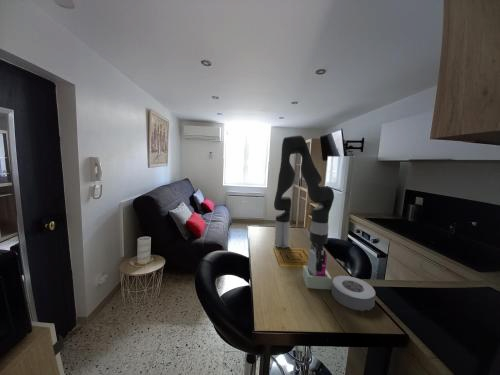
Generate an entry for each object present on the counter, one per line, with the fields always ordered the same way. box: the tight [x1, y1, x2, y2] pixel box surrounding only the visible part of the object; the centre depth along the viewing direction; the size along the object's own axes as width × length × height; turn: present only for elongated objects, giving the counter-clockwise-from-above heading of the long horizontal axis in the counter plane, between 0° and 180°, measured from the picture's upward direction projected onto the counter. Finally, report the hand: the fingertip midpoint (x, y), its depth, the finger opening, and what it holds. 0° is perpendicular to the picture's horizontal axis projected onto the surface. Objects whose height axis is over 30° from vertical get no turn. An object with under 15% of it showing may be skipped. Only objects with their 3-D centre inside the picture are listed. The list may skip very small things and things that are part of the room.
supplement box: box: [307, 249, 328, 276], centre depth 87 cm, size 6×6×12 cm
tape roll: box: [331, 275, 377, 312], centre depth 77 cm, size 15×15×5 cm
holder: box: [302, 265, 333, 291], centre depth 87 cm, size 10×10×5 cm
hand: (316, 266), depth 87 cm, fingers closed on supplement box, 7 cm apart
